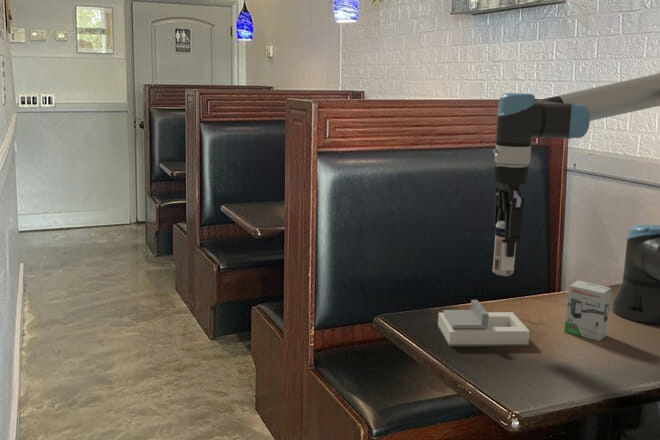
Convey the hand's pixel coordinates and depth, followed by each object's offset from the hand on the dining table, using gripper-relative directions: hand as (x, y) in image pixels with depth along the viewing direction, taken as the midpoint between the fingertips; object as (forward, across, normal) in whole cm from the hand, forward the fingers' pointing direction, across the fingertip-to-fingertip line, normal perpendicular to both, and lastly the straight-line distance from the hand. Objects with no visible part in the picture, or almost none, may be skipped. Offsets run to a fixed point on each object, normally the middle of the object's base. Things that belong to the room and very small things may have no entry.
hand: (503, 266), depth 156 cm
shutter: (+13, 0, -8) cm, 15 cm away
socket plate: (+17, 0, -4) cm, 17 cm away
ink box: (+17, -1, +21) cm, 27 cm away
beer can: (+2, 0, 0) cm, 2 cm away
